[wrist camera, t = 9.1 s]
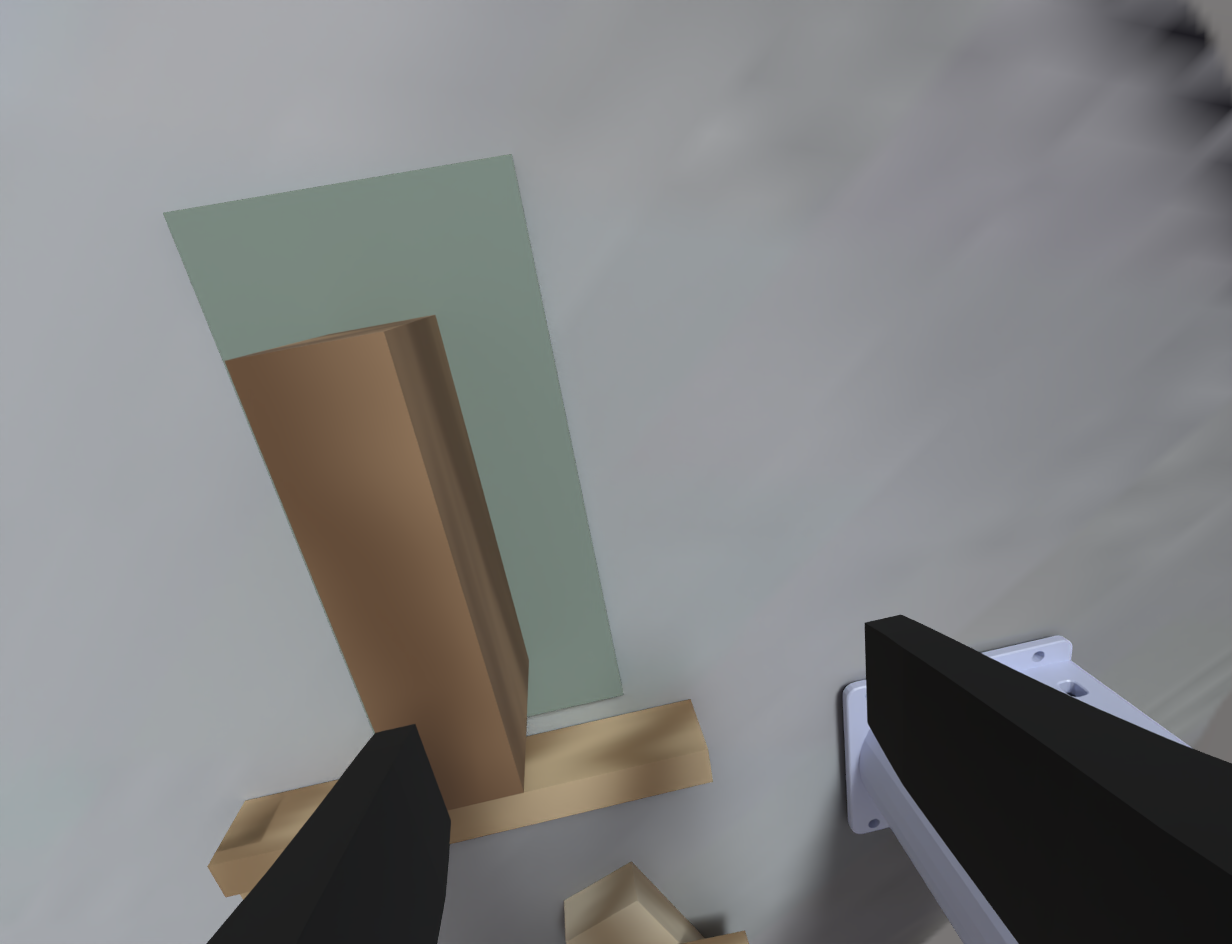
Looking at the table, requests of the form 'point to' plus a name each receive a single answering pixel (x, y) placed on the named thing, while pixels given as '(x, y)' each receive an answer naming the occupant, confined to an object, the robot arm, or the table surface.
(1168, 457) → the table surface
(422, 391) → the tall brown wooden post
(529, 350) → the rubber mat
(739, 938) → the offcut top
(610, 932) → the offcut low
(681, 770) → the oak rack
